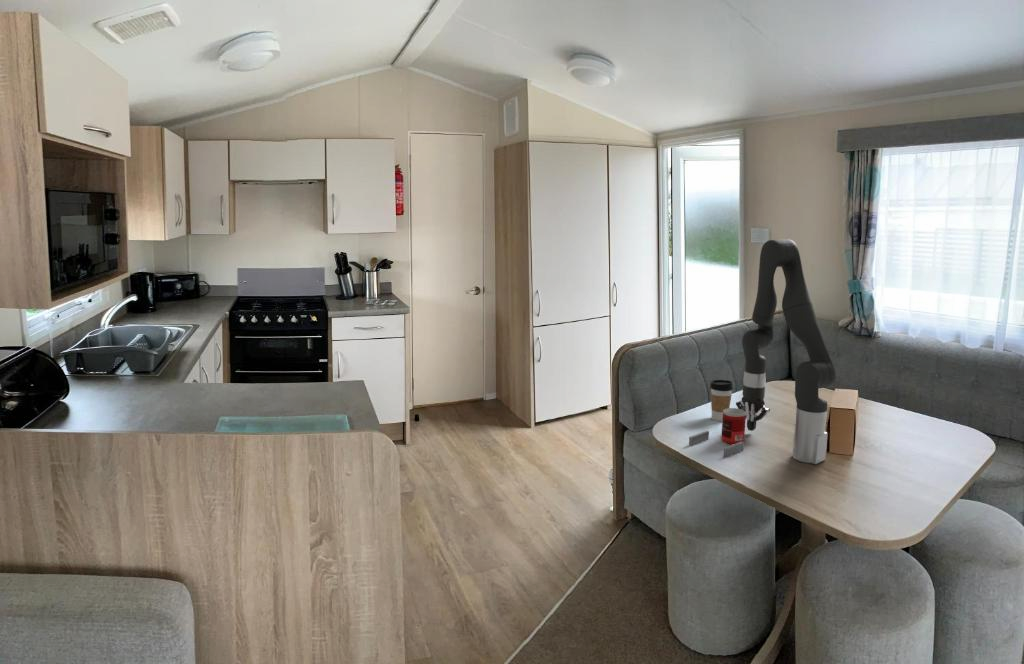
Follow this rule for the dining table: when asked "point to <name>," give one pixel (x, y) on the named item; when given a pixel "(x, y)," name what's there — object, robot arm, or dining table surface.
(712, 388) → the coffee cup
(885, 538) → the dining table surface
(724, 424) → the canned food
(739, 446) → the lane rails
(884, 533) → the dining table surface
